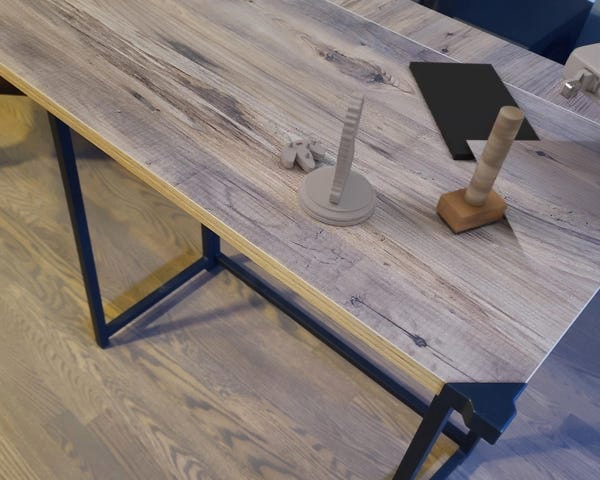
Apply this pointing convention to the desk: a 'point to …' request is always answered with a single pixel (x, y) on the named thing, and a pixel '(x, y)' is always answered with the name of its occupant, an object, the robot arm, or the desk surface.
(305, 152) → the game controller
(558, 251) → the desk surface
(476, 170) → the wooden peg stand
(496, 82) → the notched black mat
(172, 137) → the desk surface
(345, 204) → the grey upright stand
